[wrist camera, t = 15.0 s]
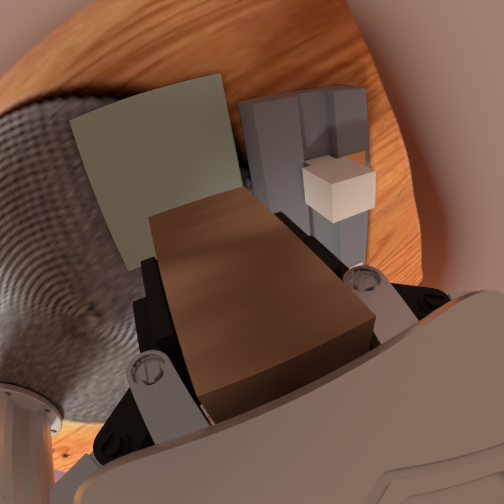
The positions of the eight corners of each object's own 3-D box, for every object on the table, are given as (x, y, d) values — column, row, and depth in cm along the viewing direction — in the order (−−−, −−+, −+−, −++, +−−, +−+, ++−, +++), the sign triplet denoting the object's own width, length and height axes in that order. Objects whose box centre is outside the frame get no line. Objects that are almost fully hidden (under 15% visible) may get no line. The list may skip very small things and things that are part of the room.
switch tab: (297, 197, 25) (333, 223, 21) (294, 163, 24) (331, 184, 20) (337, 184, 26) (374, 207, 22) (335, 152, 24) (375, 170, 21)
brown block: (176, 293, 14) (293, 566, 5) (147, 217, 12) (285, 590, 2) (257, 263, 15) (424, 492, 5) (243, 185, 12) (496, 451, 3)
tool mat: (128, 267, 25) (128, 271, 24) (70, 119, 17) (69, 120, 17) (248, 223, 27) (250, 226, 27) (218, 73, 20) (220, 73, 19)
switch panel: (275, 321, 35) (288, 339, 33) (237, 101, 21) (252, 104, 19) (347, 288, 38) (362, 303, 35) (343, 84, 24) (366, 87, 21)
